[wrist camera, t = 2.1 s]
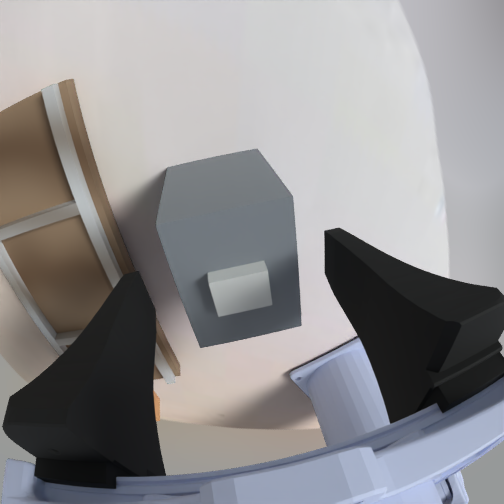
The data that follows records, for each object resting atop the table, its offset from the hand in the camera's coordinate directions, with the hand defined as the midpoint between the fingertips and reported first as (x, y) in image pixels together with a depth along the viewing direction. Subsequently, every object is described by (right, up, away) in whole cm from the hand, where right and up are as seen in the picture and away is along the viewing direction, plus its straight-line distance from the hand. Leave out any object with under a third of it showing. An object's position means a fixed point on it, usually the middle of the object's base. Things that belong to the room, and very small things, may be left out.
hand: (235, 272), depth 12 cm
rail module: (-1, +3, +4) cm, 5 cm away
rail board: (-10, 0, +4) cm, 11 cm away
